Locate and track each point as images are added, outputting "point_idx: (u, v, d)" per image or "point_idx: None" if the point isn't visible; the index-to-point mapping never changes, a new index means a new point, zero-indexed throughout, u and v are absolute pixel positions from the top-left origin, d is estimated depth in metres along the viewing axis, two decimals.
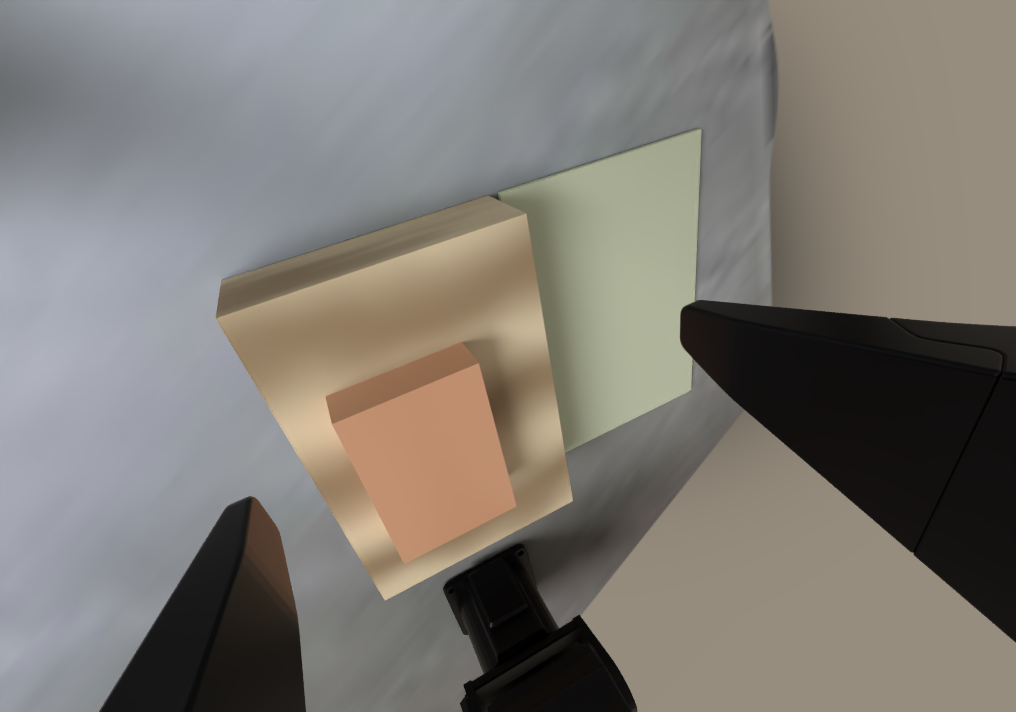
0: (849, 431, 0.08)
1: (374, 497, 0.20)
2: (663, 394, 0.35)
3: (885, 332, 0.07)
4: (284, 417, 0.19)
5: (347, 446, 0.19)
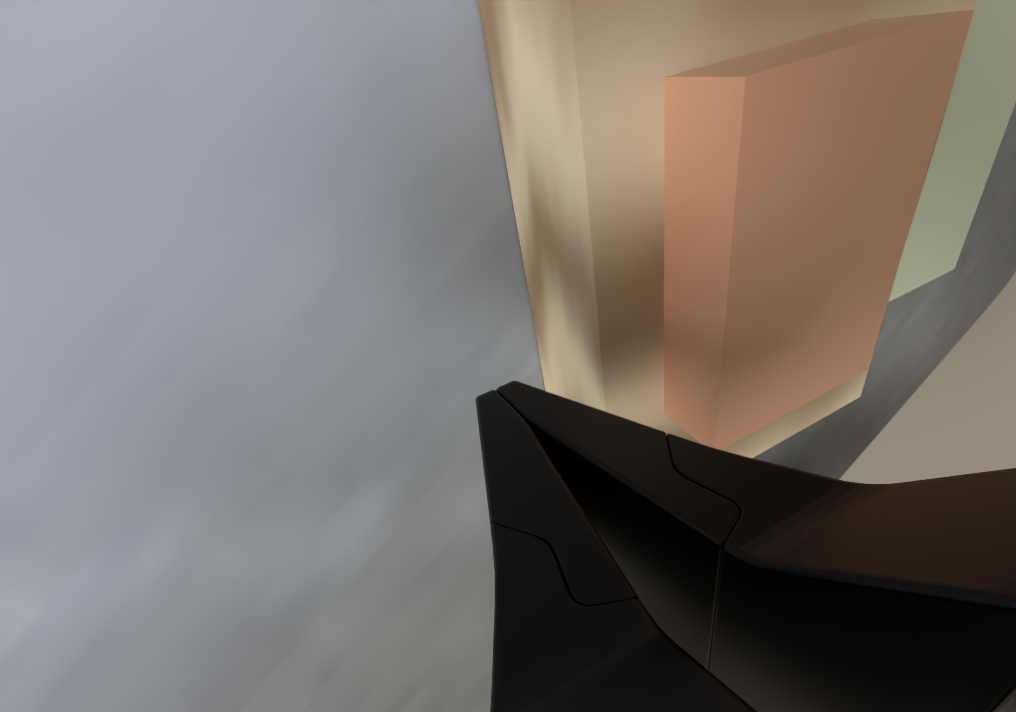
0: (629, 561, 0.07)
1: (732, 298, 0.10)
2: (928, 268, 0.25)
3: (649, 457, 0.06)
4: (593, 108, 0.09)
5: (744, 151, 0.09)
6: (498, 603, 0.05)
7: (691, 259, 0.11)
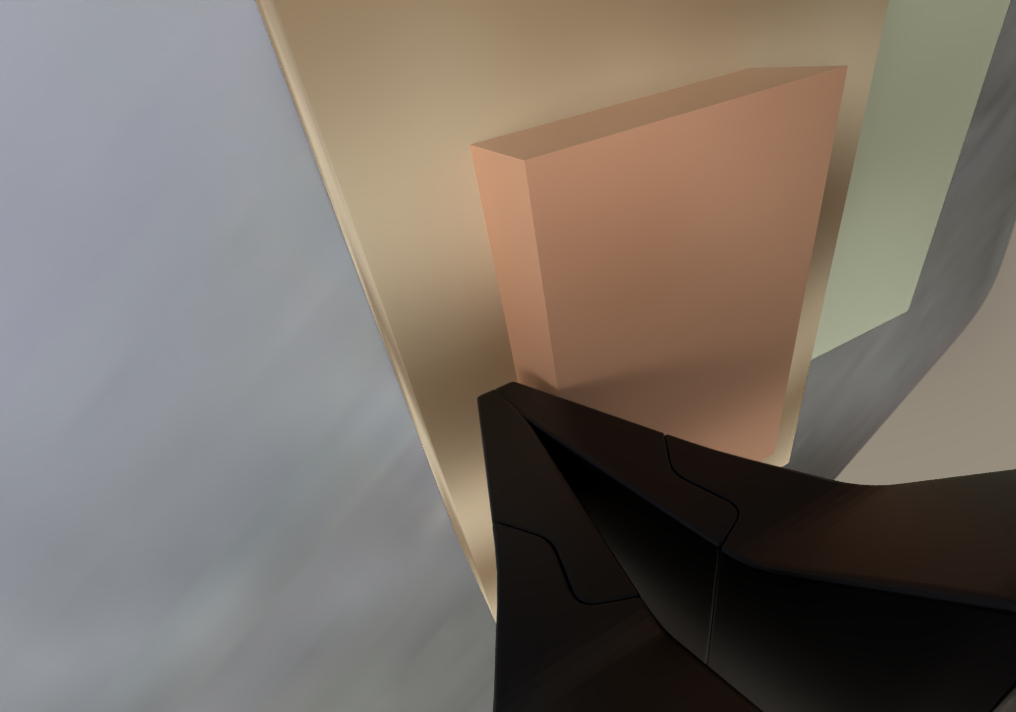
0: (627, 562, 0.07)
1: None
2: (877, 311, 0.23)
3: (647, 458, 0.06)
4: (361, 188, 0.08)
5: (545, 245, 0.07)
6: (501, 602, 0.05)
7: (528, 352, 0.09)
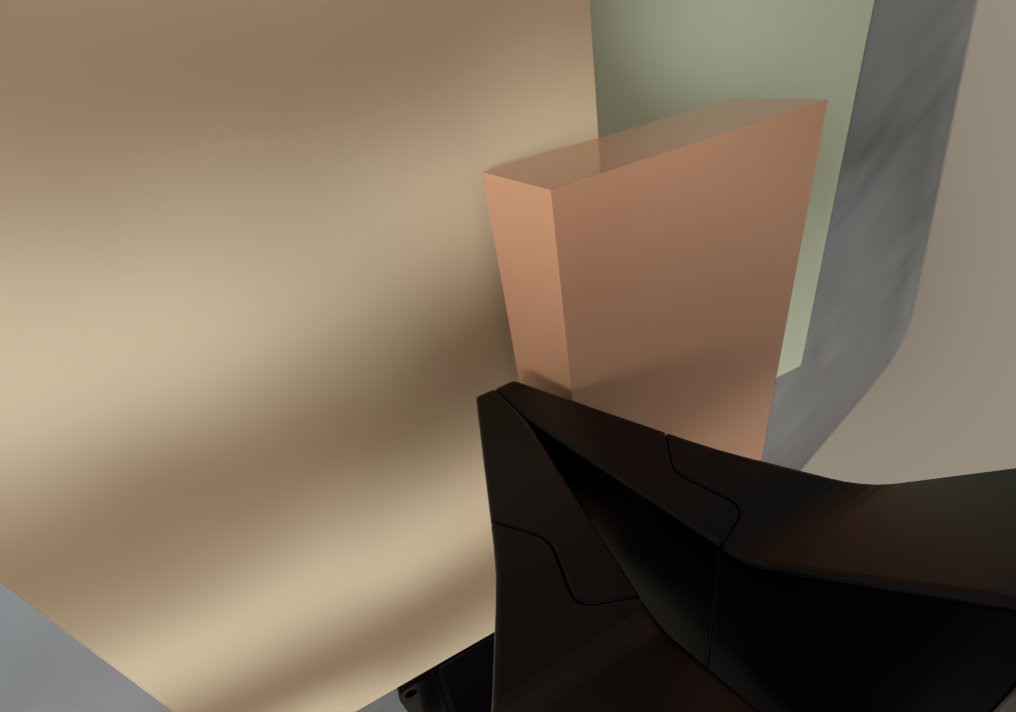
0: (628, 561, 0.07)
1: None
2: None
3: (648, 457, 0.06)
4: None
5: (566, 271, 0.07)
6: (499, 602, 0.05)
7: (538, 373, 0.09)
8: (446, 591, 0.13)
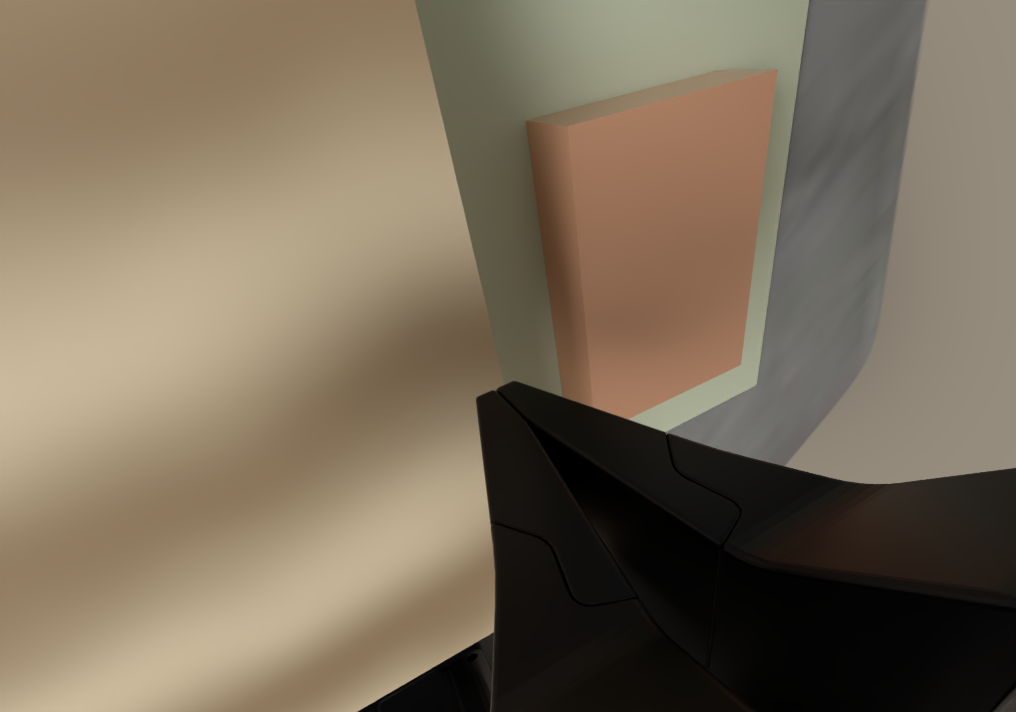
0: (629, 561, 0.07)
1: None
2: (712, 391, 0.20)
3: (649, 457, 0.06)
4: None
5: None
6: (498, 603, 0.05)
7: None
8: (345, 645, 0.12)
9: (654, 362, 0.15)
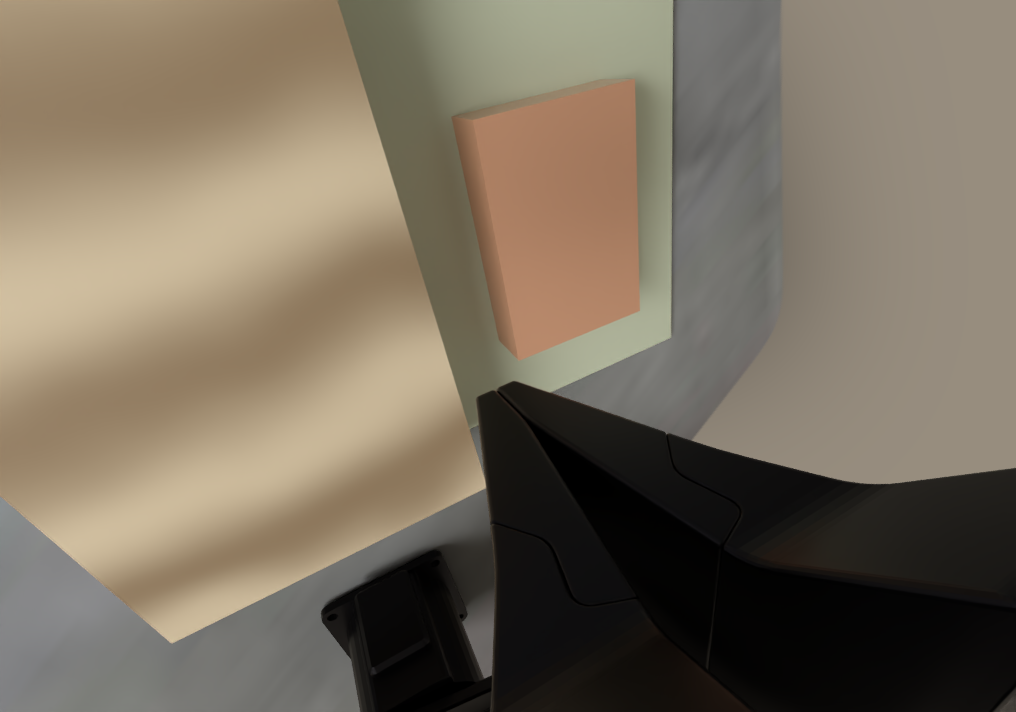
0: (629, 561, 0.07)
1: None
2: (630, 340, 0.25)
3: (649, 457, 0.06)
4: None
5: None
6: (498, 603, 0.05)
7: None
8: (321, 502, 0.17)
9: (562, 303, 0.19)
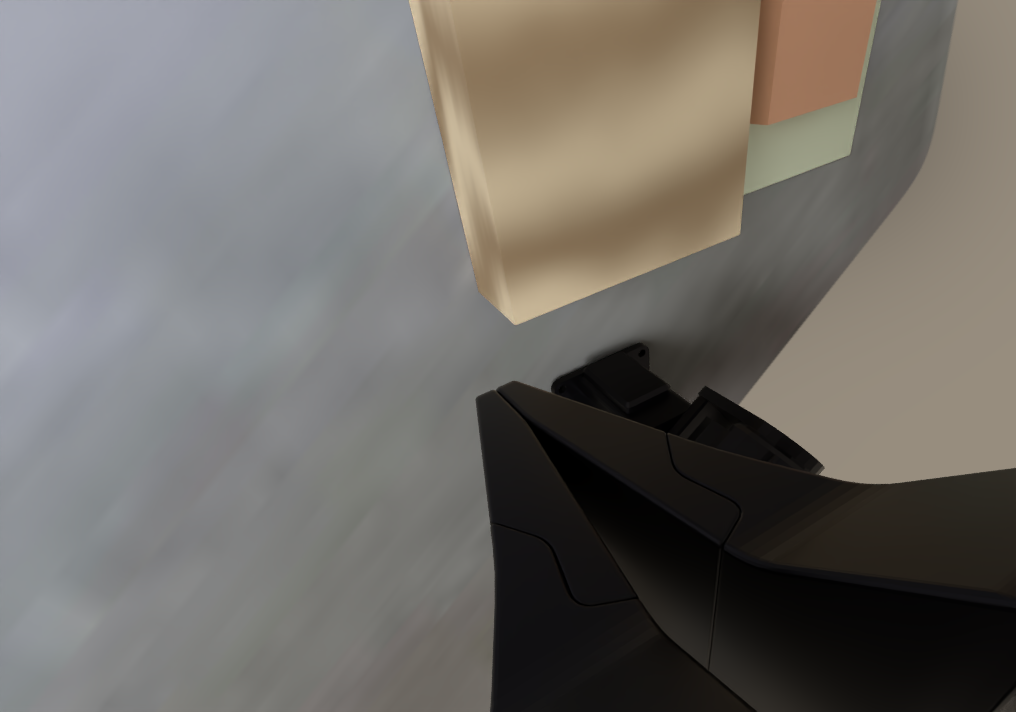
0: (629, 561, 0.07)
1: None
2: (822, 149, 0.28)
3: (649, 457, 0.06)
4: None
5: None
6: (498, 603, 0.05)
7: None
8: (640, 207, 0.20)
9: (809, 71, 0.22)
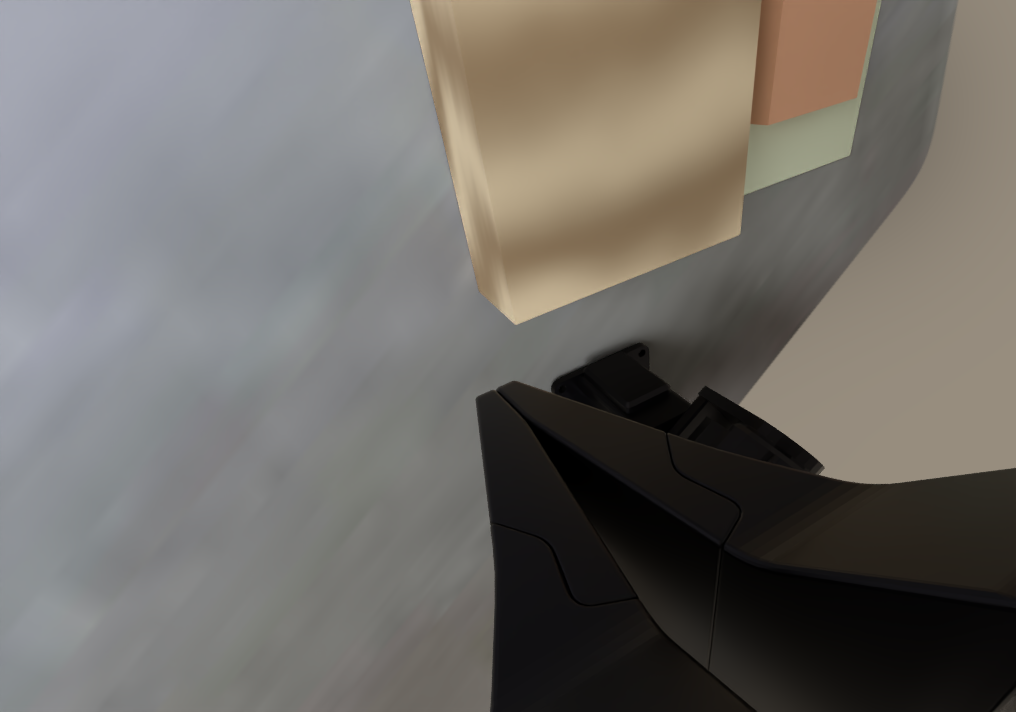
0: (629, 561, 0.07)
1: None
2: (822, 149, 0.28)
3: (649, 457, 0.06)
4: None
5: None
6: (498, 603, 0.05)
7: None
8: (641, 207, 0.20)
9: (809, 72, 0.22)
